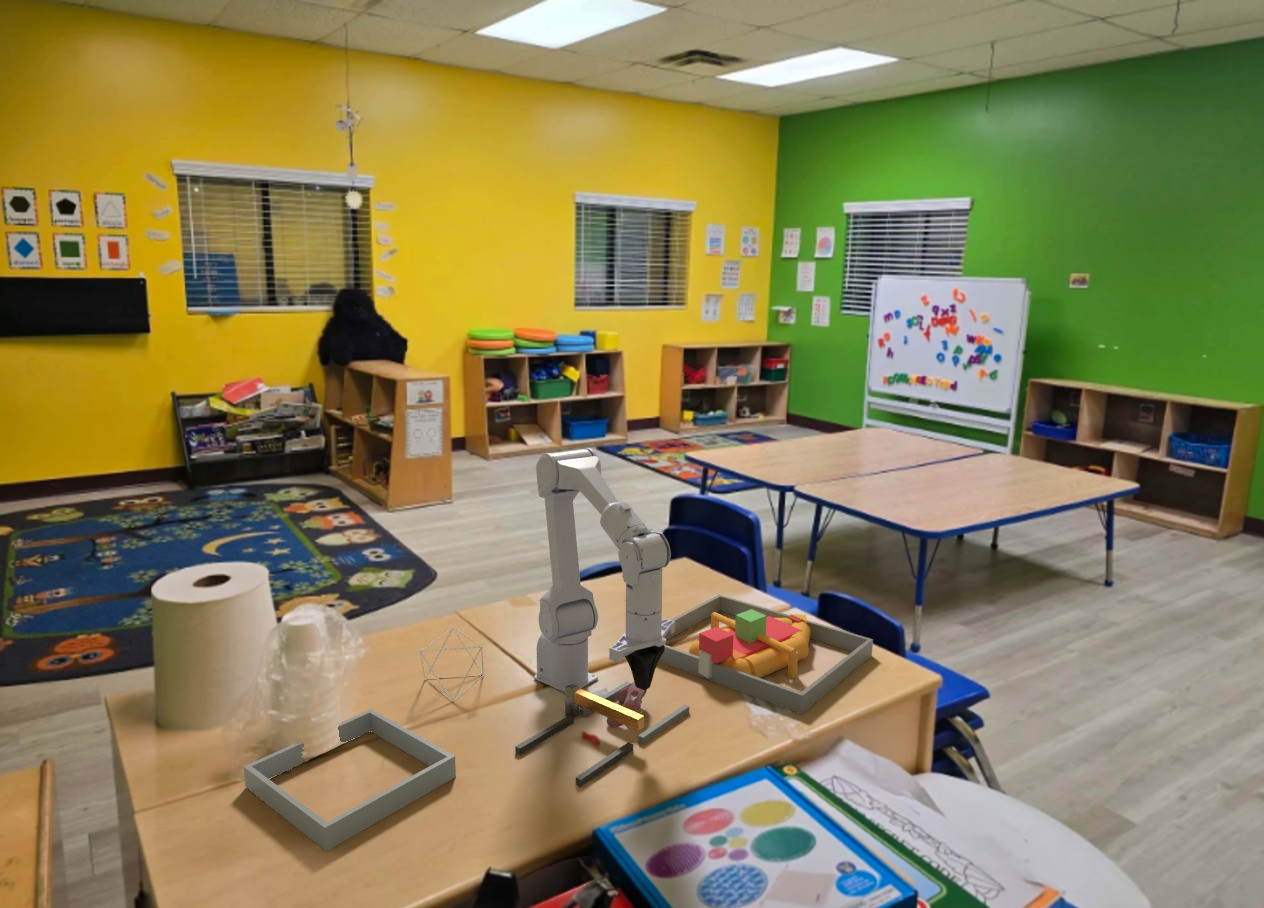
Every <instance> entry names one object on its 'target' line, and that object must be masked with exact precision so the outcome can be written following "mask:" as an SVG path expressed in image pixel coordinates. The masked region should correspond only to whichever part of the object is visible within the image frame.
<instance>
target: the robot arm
mask: <svg viewBox="0 0 1264 908" xmlns="http://www.w3.org/2000/svg"><path fill="white" fill-rule="evenodd" d="M601 466H602V465H601V459H600V458H599V457H598V455H597V453H596V452H595V451H594V450H593V449H592V448H591V447H585V448H582V449H581V448H580V449H574V450H565V451H560V452H551V453H549V452H546V453H545V452H544V453H542V454H541V456H540V457H539V459H538V461H537V462H536V465H535V470H536V471H535V472H536V480H537V481H536V482H537V490H538V496H539V497H540V498H543V499H544V506H545V517H546V527H547V538H548V540H547V541H548V547H549V548H548V550H549V560H550V569H551V570H550V571H551V581H552V586H551V587H550V588H549V589H548V590H547V591H546V592H544V594H543V595H542V596H541V597H540V599H539V613H538V624H539V625H538V626H539V629H540V632H541V634H540V636H539V637H538V640H537V644H536V674H535V675H533V679H534V680H535V681H538V682H540V683H542V684H545V685H547V686H550V687H552V688H554V689H556V690H559V691H561V692H563V693H565V687H566V686H567V685H572V684H573V685H577V686H579V689H583V688H584V687H586V686H588V685H589V684H591V683H594V682H595V681H597V680H598V679H599V677H598V675H596V674H594V673H591V672H589V637H592V631H593V630H595V629H596V627H597V625H598V621H599V612H598V609H597V606H596V603H595V599H594V593H593V591H591V590H590V589H589V588H587V587H585V586H584V585H583V584H581V575H580V564H579V554H578V542H577V532H576V522H575V521H576V520H575V510H574V508H575V507H574V501H575V499H576V497H577V496H578V495H579V493H581V494H582V495H583V497H585V499H587V501H588V502H590V504H591V505H592V506H593V508H594V509H596V511H597V512H598V513H599V514H600V521H599V523H600V526H601V528H602V529H603V530H604V532H605V533H606V534H607V536H608V538H609V539H610V540H611V541H612V543H613V544H614V545H615V547H616V548H617V549H618V551H617V552H618V554H617V555H618V561H619V563H620V567H621V571H622V578H623V582H624V583H625V631H624V633H623V634H622V635H621V636H620V637H619V639H618V640H617V641H616V642H615V643H614V644H613V645H612V646H609V648H608V650H609V651H608V654H609V656H608V657H609V660H611V661H613V662H616V663H618V664H619V663H621V662H623V661H624V658H625V659H626V661H627V664H628V666H629V668H630V671H631V675H632V678H633V682H635V686H636V687H637V688H640V689H642V690H647V691H648V689H650V688H651V686H652V682H653V678H654V675H655V671H656V668H657V666H658V664H659V659H660V657H661V656H662V654H663V653H664V651H665V646H664V644H665V645H666V644H667V640H666V639H665V638H664V637H665V636H666V634H667V633H669V634H673V633H674V632H675V622H674V621H671V620H672V619H668V618H664V619H663V617H662V616H663V615H662V611H663V571H664V570H663V569H664V568H666V567H668V565H669V564H670V561H671V557H672V556H671V555H672V552H671V546H670V543H669V541H668V539H667V538H666V536H665V534H664V533H662V532H661V531H658V530H657V531H656V530H654V529H653V528H648V527H647V526H646V524H645V522H643V521H642V519H641V518H640V517H639V515H638V514H637V513H636V512H635V510H634V509H633V508H632V506H630V504H629V503H628V502H624V501H620V502H619V500H618V499H617V497H616V496H615V494H614V492H613V491H612V489H611V488H610V487H609V485H608V483H607V482H606V480H605V478H604V477H603V476H602V467H601Z"/></svg>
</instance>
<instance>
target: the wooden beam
mask: <svg viewBox="0 0 1264 908" xmlns="http://www.w3.org/2000/svg"><path fill="white" fill-rule="evenodd" d="M622 706H623V705H620V704H617V703H615V702H612V701H611V702H610V701H608V700H606V699H603V698H601V696H599V695H597V694H595V693H594V694H593V693H591V692H590V691H587V690H584V689H583V688H581V689H579V686H577V685H573V684H572V685H567V686H566V687H565V692H564V713H565V715H564V717H567V716H568V715H570V716H573V717H574V719H577V718H579V717H580V716H579V709H580V707H585V708H587V709H589V710H592V711H594V713H597V714H599V715H601V716H603V717H605V718H606V719H607V718H610V719H612V720H614V721H616V722H619V723H621V724H623V725H622V726H626V727H628V728H630V729H632V730H635V731H637V732H639V731H640V730H642V729H643V728H645V727H644V726H645V716H644V715H643V714H642V713H641V714H639V713H636V712H634V711H631V710H629V709H627V708H624V707H622Z"/></svg>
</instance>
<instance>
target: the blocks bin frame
mask: <svg viewBox="0 0 1264 908" xmlns="http://www.w3.org/2000/svg"><path fill="white" fill-rule="evenodd" d="M751 609H752V610H755V611H757V612H759V613H761V614H764V615H766V616H767V617H768V616H770V617H772V618H788V617H790V614H787V613H783V612H780V611H776V610H775V609H771V608H767V607H763V606H760V605H756V604H753V603H749V602H746V601H742V600H740V599H736V598H733V597H730V596H729V597H728V596H725V595H723V594H717V595H715V596H714V597H712V598H710V599H708V600H706V601H704V602H701V603H700V604H698V605H696V606H694V607H692V608H691V609H689V610H687V611H685V612H683V613H682V614H679V615H677V616H675V617H674V618H672V619H670V620H671V621H674V622H675V632H674V633H673V634H669V633H667V634H666V636H665V637H664V638H665V639H666V641H668V640H670V639H671V638H673V637H675V636H677V635H679V634H681V633H682V632H684V631H686V630H687V629H690V628H691V627H693V626H695V625H697V624H699V623H701V622H702V621H704V620H706V619H707V618H711V614H712V613H713V612H716V613H719V612H722V613H725V614H729V615H731V616H735V617H736V615H737V614H740V613H743V612H745V611H748V610H751ZM807 625H808V626H809V627H810V631H811V633H810V638H809V640H810V639H811V640H814V641H816V642H819V643H824V644H826V645H829V646H834V647H836V648H839V649H844V650H846V651H849V652H850V653H849V654H847V655H846V656H845V657H843V658H842V659H841V660H839V662H837V663H836V664H835V665H833V667H831V668H830V669H828V670H827V671H826V672H824V674H823V675H821V676H820V677H819V678H817V679H816V680H815V681H813V682H812V683H811V684H810V685H808V686H807V687H806V688H805V689H803V690H802V691H797V690H795V689H792V688H789V687H786V686H784V685H781V684H777V683H775V682H772V681H770V680H766V679H763V678H758V677H755V676H752V675H750V674H747V673H744V672H741V671H738V670H735V669H733V668H730V667H727V666H724V665H721V664H718V663H717V664H715V663H712V677H710V678H707V677H705V676H703V675H702V674H700V673H699V656H696V655H693V654H690V653H689V652H687V651H684V650H681V649H678V648H676V647H672V646H669V645H666V644H664V646H665V651H664V653H663V654H662V656H661V657H660V659H659V661H658V663H663V664H665V665H667V666H670V667H673V668H676V669H679V670H681V671H683V672H687V673H689V674H692V675H695V676H697V677H700V678H703V679H706V680H708V681H711V682H714V683H716V684H719V685H722V686H724V687H727V688H729V689H732V690H735V691H738V690H739V691H738V692H740V691H742V692H741V693H743V692H744V693H743V694H746V695H749V696H751V695H752V697H755V698H758V699H760V700H763V701H765V702H768V703H771V704H772V705H776V706H779V707H781V706H782V707H781V708H784V709H786V708H788V709H787V710H789V709H790V711H793V712H795V713H798V714H800V715H802V714H804V713H805V712H806V711H808V709H810V708H811V707H812V706H813V705H814V704H816V703H817V702H819V700H820V699H822V698H823V697H824V696H825V695H827V693H829V692H830V691H831V690H833V689H834V688H835V687H836V686H837V685H838V684H840V683H841V682H842V681H844V680H845V679H846V677H848V676H849V675H851V673H853V672H854V671H855V670H857V669H858V668H859V667H860V666H861V665H863V664H864V663H865V662H866V661H868V659H870V657H872V656H873V646H874V645H873V644H874V639H872V638H870V637H866V636H863V635H859V634H855V633H853V632H849V631H846V630H841V629H839V628H836V627H831V626H829V625H825V624H821V623H818V622H814V621H811V620H809V619H808V620H807Z"/></svg>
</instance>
